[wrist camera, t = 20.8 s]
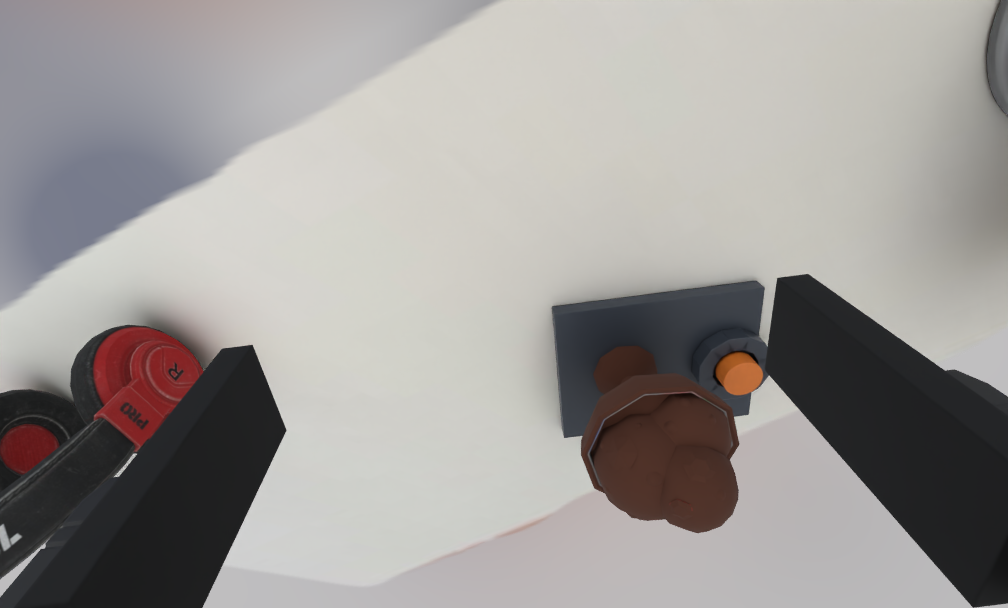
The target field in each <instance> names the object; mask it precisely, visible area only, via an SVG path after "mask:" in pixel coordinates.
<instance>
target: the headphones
mask: <svg viewBox="0 0 1008 608" xmlns="http://www.w3.org/2000/svg"><path fill="white" fill-rule="evenodd" d="M203 372H204V371H203V370H202V368H201V366H200V364H199V362H198V360H197V359H196V358H195V357H194V356H193V354H192V353H191V352H190V351H189V350H188V349H187V348H186V347H185V346H184V345H183V344H181V343H180V342H179V341H178V340H176V339H174V338H172V337H171V336H169V335H167V334H165V333H164V332H162V331H159V330H156V329H153V328H150V327H147V326H136V325H125V326H120V327H115V328H111V329H109V330H106V331H104V332H102V333H100V334H99V335H97V336H95V337H93V338H92V339H91V340H90V341H89V342H87V344H86V345H85V346H84V347H83V348H82V349H81V350H80V351H79V353H78V354H77V356H76V358H75V361H74V363H73V366H72V368H71V383H70V387H71V391H72V395H73V399H74V403H75V406H76V407H75V406H74V405H72V404H71V403H69V402H68V401H66V400H65V399H63V398H60V397H58V396H55V395H53V394H50V393H48V392H42V391H36V390H11V391H8V392H4V393H0V579H1V578H2V577H4V576H5V575H6V574H7V573H9V572H10V571H11V570H13V569H14V568H15V567H16V566H18V565H19V564H20V563H21V562H23V561H24V560H25V559H26V558H28V557H29V556H30V555H31V554H32V553H34V552H35V551H36V550H37V549H38V548H39V547H40V546H41V545H43V544H44V543H45V542H46V541H47V540H49V539H50V538H51V537H52V535H53V534H54V533H55V532H56V531H57V530H58V529H59V528H62V527H63V522H64V521H65V520H66V519H67V518H68V517H69V515H70V514H71V513H72V512H73V511H74V509H75V508H76V507H77V506H78V505H79V503H80V502H81V501H82V500H83V499H84V498H85V497H87V496H88V495H89V494H91V493H92V492H93V491H94V490H96V489H97V488H98V487H99V486H101V485H102V484H103V483H104V482H106V481H107V480H108V479H109V478H113V477H114V476H115V475H116V474H117V473H118V472H119V471H120V469H121V468H122V467H123V466H124V465H125V464H126V463H127V461H128V460H129V459H130V457H131V456H132V454H133V453H137V454H138V453H139V451H140V450H141V449H142V448H143V446H144V445H145V444H146V443H147V441H148V440H149V439H150V438H151V436H152V435H153V434H154V433H155V432H156V430H157V429H158V428H159V427H160V425H161V424H162V423H163V422H164V420H165V419H166V418H167V417H168V415H169V414H170V413H171V412H172V410H173V409H174V408H175V407H176V405H177V404H178V403H179V402H180V400H181V399H182V398H183V397H184V396H185V394H186V393H187V392H188V391H189V389H190V388H191V387H192V386H193V384H194V383H195V382H196V381H197V379H198V378H199V377H200V376H201V374H202V373H203Z"/></svg>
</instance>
